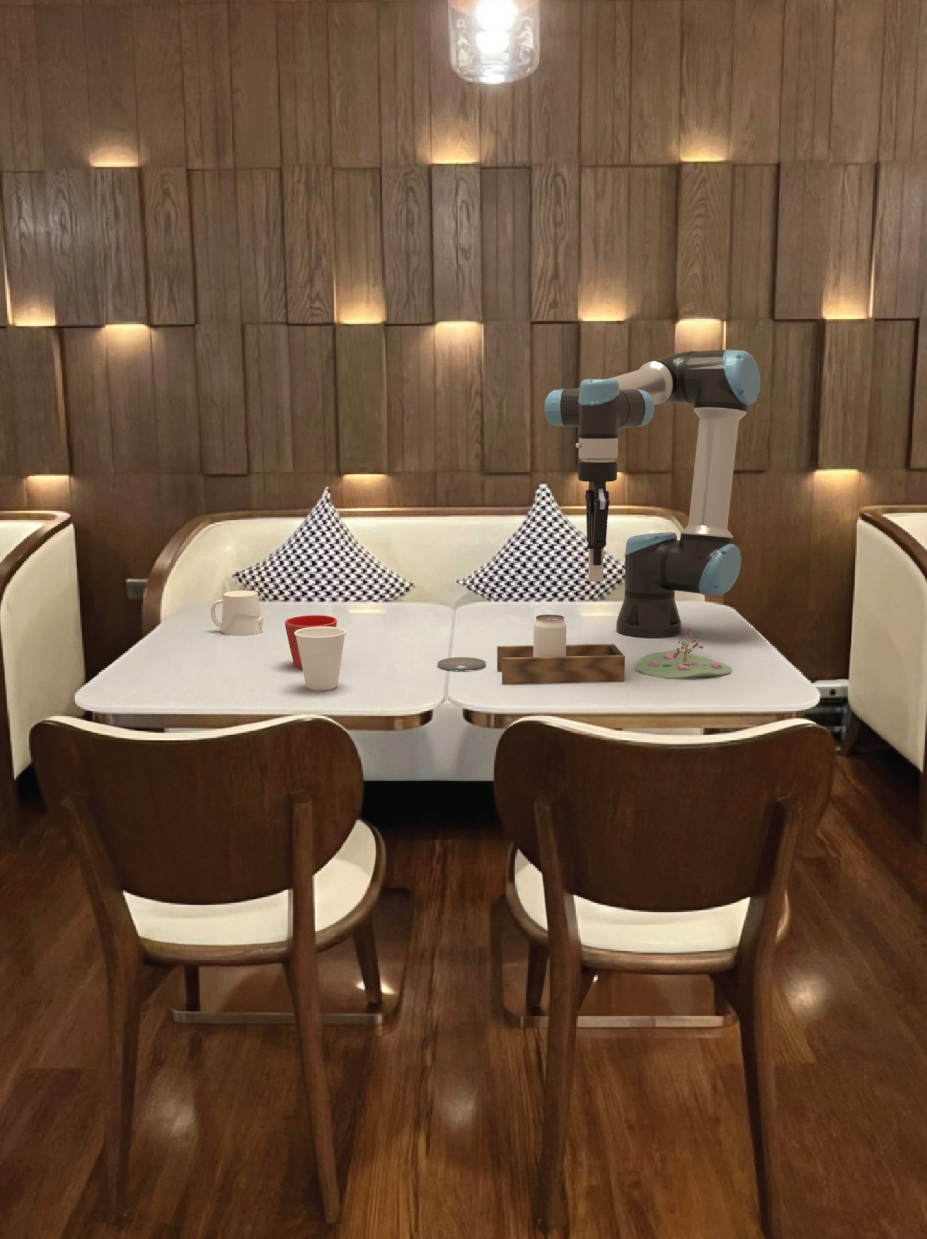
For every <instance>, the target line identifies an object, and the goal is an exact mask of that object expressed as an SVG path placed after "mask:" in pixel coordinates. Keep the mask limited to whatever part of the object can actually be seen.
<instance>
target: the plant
mask: <svg viewBox="0 0 927 1239" xmlns="http://www.w3.org/2000/svg"><path fill="white" fill-rule="evenodd" d="M687 631H688V632H691V631H692V629H691V628H688V629H687ZM691 635H692V634H689V636H688V635H687V634H684V635H683V636H682V638H681V641H683V640H684V639H685V640H684V641H683V642H681V641H680V640H679V641H678V644H680V643H681V648H679V647H677V648H676V650H668V651H661V652H658V651H657V652H654V653H648V654H646V655H645V656H644V657H643V658H641V659H640V660H639V661H638V662H637V663H636V664H635V665H634V666H633V669H634V671H635V672H637V673H639V674H641V675H645V676H649V677H654V678H658V679H659V678H660V679H666V680H667V679H685V678H687V679H688V678H700V677H703V678H704V677H714V676H716V677H717V676H724V675H725V676H726V675H730V674H732V672H733V668H732V667H730V666H728V665H726V664H722V663H720V662H717V661H715V660H712V659H709V658H706V657H703V656H699V655H697V654H693V653H691V652H692V651H694V649H696V648H697V647H698V649H704V647H703V645H699V642H696V641H697V640H696V639H698V637H692V636H691ZM687 638H689V640H688V642H687V643H686V641H687ZM690 643H691V644H693V643H694V644H693V645H690Z"/></svg>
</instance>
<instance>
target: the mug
mask: <svg viewBox="0 0 927 1239" xmlns="http://www.w3.org/2000/svg"><path fill="white" fill-rule="evenodd" d="M219 604H222V612H221V614H222V615H221V621H219V620H218V618H217V615H216V607H217V605H219ZM261 615H262V612H261V604H260V599H259V594H258V592H257V591H254V590H233V591H227V592H224V593H223V598H221V599H217V600H216V601H213V603H212V604H211V607H210V616H211V620H212V622H213V623H214V625H216V627H218V628H220V632H221V633H222V634H224V635H226V636H240V637H241V636H254V635H259V634H262V633H263V626H264V618H263V616H261Z"/></svg>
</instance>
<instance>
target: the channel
mask: <svg viewBox="0 0 927 1239" xmlns="http://www.w3.org/2000/svg"><path fill="white" fill-rule="evenodd" d="M496 646H497V647H496V671H497V670H498V671H497V672H501V684H502V685H519V684H521V685H522V684H523V685H524V684H564V683H565V684H566V683H567V684H568V683H572V684H573V683H609V682H610V683H611V682H612V683H613V682H625V676H626V675H625V673H626V672H625V670H626V669H625V668H626V667H625V666H626V657H625V655H624V653H623V652H622V651H621V650H620V649H619V648H618V647H617V646H616V645H615V643H593V644H592V643H590V644H588V643H587V644H585V643H584V644H583V643H581V644H566V656H560V657H533V648H534V644H533V645H529V644H528V645H527V644H526V645H496Z"/></svg>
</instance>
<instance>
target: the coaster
mask: <svg viewBox="0 0 927 1239" xmlns="http://www.w3.org/2000/svg"><path fill="white" fill-rule="evenodd" d="M486 665H487V664H486V661H485V660H483V659H481V658H476V657H467V656H466V657H464V656H460V657H459V656H458V657H447V658H444V659H441V660H439V661H437V668H438V669H440V670H442V671H443V670H444V671H449V672H451V671H450V670H458V671H457V672H460V671H462V672H466V671H465V670H475V671H478V670H477V669H480V668H482V669H484V668H486ZM480 670H481V669H480Z"/></svg>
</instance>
